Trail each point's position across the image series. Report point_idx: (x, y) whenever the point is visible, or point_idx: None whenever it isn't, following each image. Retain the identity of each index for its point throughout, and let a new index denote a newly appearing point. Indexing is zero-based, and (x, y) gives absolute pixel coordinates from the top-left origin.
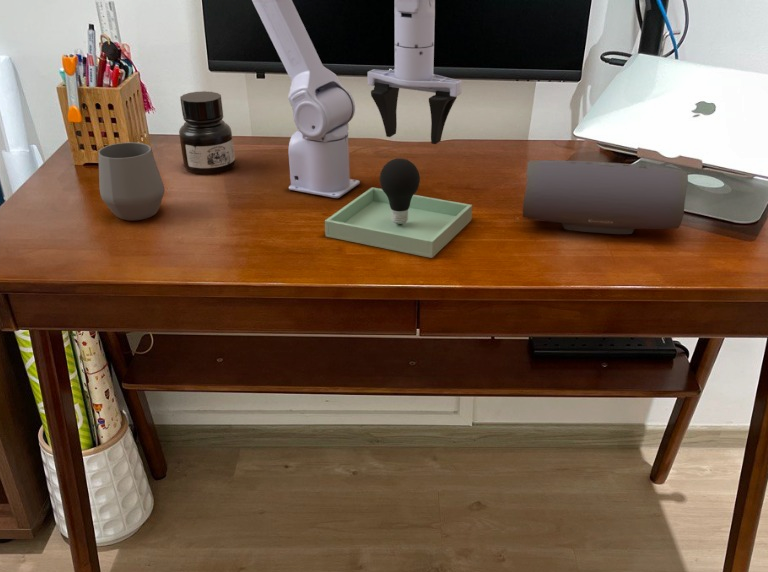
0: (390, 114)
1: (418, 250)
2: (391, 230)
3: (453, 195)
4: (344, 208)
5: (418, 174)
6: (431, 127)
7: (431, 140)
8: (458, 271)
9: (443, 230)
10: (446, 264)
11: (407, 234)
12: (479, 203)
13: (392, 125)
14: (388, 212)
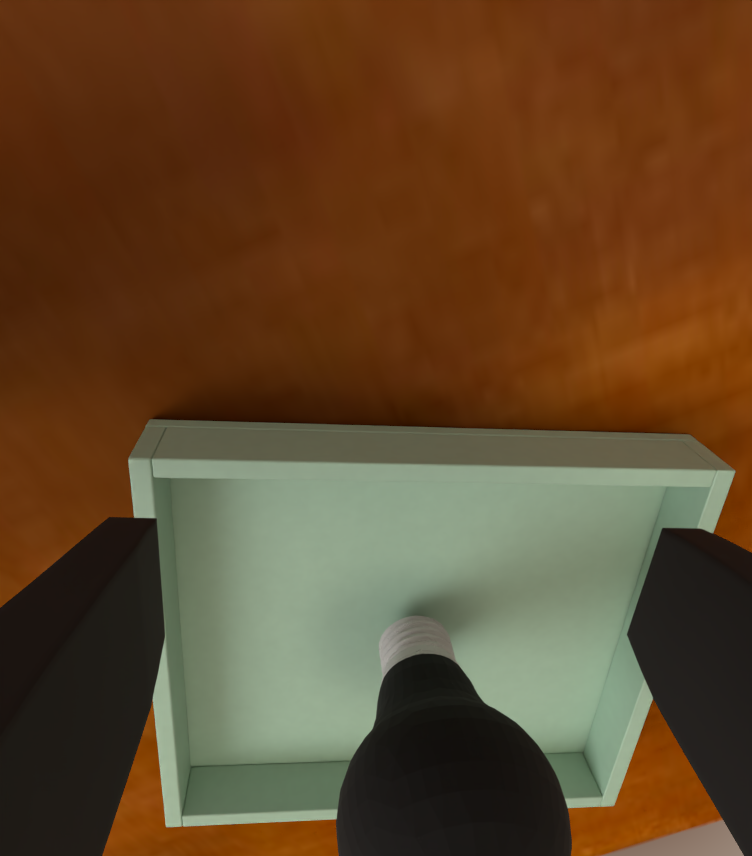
0: (65, 844)
1: None
2: None
3: (549, 127)
4: (168, 724)
5: (571, 841)
6: (724, 817)
7: (643, 667)
8: (679, 778)
9: (637, 731)
10: (638, 760)
11: (468, 677)
12: (715, 199)
13: (128, 669)
14: (309, 538)
